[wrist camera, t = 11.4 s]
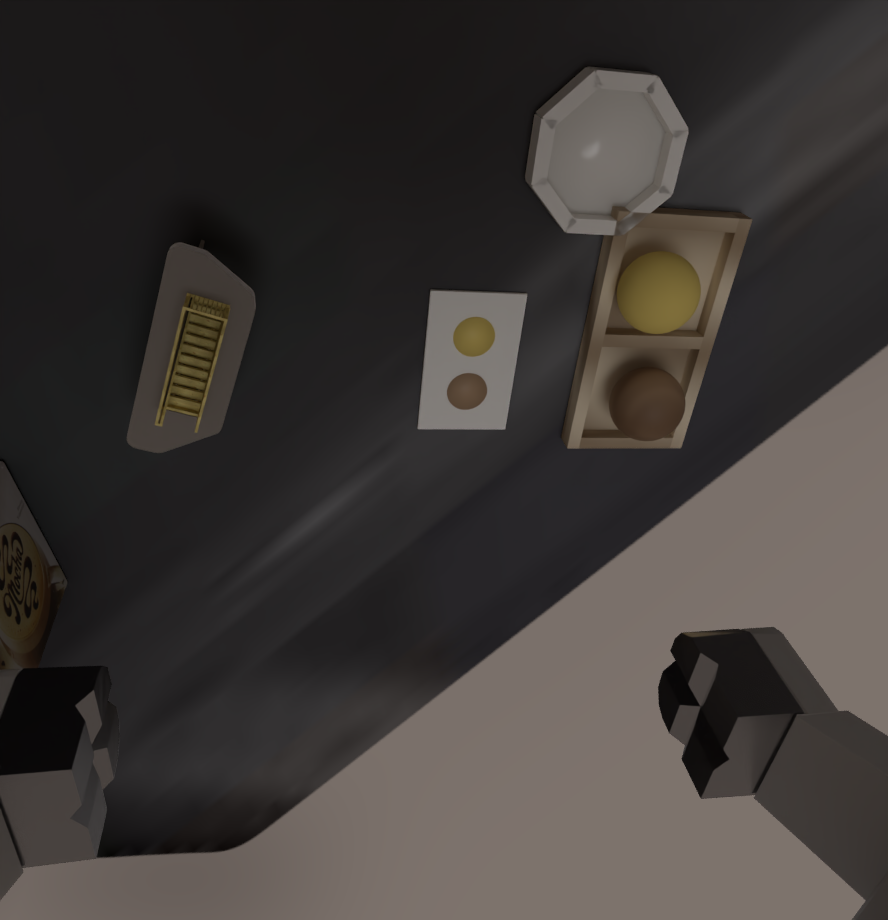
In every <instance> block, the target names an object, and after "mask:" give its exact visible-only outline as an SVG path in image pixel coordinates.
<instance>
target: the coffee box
mask: <svg viewBox="0 0 888 920" xmlns="http://www.w3.org/2000/svg"><path fill="white" fill-rule="evenodd" d="M66 585H67V580H66V578H65V576H64V574H63V572H62V570H61V568H60V566H59V564H58V562H57V560H56V559H55V557H54V555H53V553H52V551H51V549H50V547H49V546H48V544H47V542H46V540H45V538H44V536H43V534H42V533H41V531H40V529H39V527H38V525H37V523H36V521H35V520H34V518H33V516H32V514H31V512H30V510H29V508H28V507H27V505H26V503H25V501H24V499H23V497H22V495H21V493H20V492H19V490H18V488H17V486H16V484H15V482H14V480H13V479H12V477H11V475H10V473H9V471H8V469H7V467H6V465H5V464H4V462H2V461H0V670H4V669H23V668H38V666H39V664H40V661H41V658H42V654H43V651H44V649H45V645H46V643H47V640H48V637H49V634H50V631H51V628H52V625H53V622H54V619H55V616H56V614H57V611H58V608H59V605H60V602H61V599H62V597H63V594H64V591H65V588H66Z"/></svg>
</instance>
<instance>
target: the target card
mask: <svg viewBox="0 0 888 920" xmlns="http://www.w3.org/2000/svg"><path fill="white" fill-rule="evenodd" d="M526 300H527V293H515V292H489V291H462V290H436V289H430V297H429V308H428V318H427V329H426V340H425V350H424V361H423V372H422V382H421V393H420V404H419V415H418V425H417V428H418V429H505V427H506V421H507V415H508V409H509V403H510V397H511V391H512V385H513V379H514V373H515V367H516V361H517V355H518V349H519V343H520V337H521V331H522V324H523V318H524V312H525V306H526Z"/></svg>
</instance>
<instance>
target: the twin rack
mask: <svg viewBox="0 0 888 920" xmlns="http://www.w3.org/2000/svg"><path fill="white" fill-rule="evenodd" d="M633 213H634V215H632V216H630V215H629V214H631V213H630V211H629V210H628V209H626V208H625V207H618V206H612V211H611V216H612V217H613V218H614V219H615V220H616V221H617V223H616V227H619V226H621V228H620V230H616V229H617V228H616V227H615V228H616V229H615V231H618V232H617V233H619V231H620V233H619V234H621V233H622V230H624V229H626V230H625V233H624V234H621V235H619V234H617V235H616V236H615V234H616V233H614V235H604V237H603V242H602V247H601V251H600V256H599V261H598V265H597V270H596V275H595V280H594V284H593V289H592V294H591V299H590V303H589V308H588V313H587V317H586V322H585V327H584V332H583V336H582V341H581V346H580V350H579V355H578V360H577V365H576V369H575V374H574V379H573V383H572V388H571V393H570V398H569V402H568V407H567V412H566V416H565V421H564V426H563V431H562V435H561V438H562V440H563V442H564V444H565V445H566V447H567V448H681V446H682V443H683V440H684V437H685V434H686V430H687V427H688V424H689V421H690V418H691V414H692V411H693V408H694V405H695V402H696V398H697V395H698V392H699V389H700V386H701V382H702V379H703V376H704V373H705V370H706V366H707V363H708V360H709V357H710V354H711V350H712V347H713V344H714V341H715V338H716V334H717V331H718V328H719V325H720V322H721V318H722V315H723V312H724V309H725V306H726V302H727V299H728V296H729V293H730V290H731V286H732V283H733V280H734V277H735V274H736V271H737V267H738V264H739V261H740V258H741V255H742V251H743V248H744V245H745V242H746V239H747V235H748V232H749V229H750V226H751V223H752V219H751V218H749V217H748V216H746V215H744V214H742V213H739V212H723V211H707V210H691V209H675V208H659V207H657V208H656V209H655V210H654V211H652V212H651V213H645V214H647V215H648V216H647V215H645V214H644V213H638V212H633ZM636 213H637V214H636ZM639 214H641V215H639ZM627 215H629V216H630V217H632V218H633V217H634V218H633V219H634V220H635V217H637V216H636V215H639V216H640V217H639V216H638V217H639V218H638V219H639V220H638V219H637V218H636V220H637V221H638V222H637V221H636V222H635V221H634V220H632V219H631V218H630V217H629V218H630V219H631V220H630V219H629V218H627V217H626V216H627ZM643 215H645V217H644V216H643ZM642 216H643V217H644V219H641V218H643V217H642ZM624 217H626V218H625V219H626V222H627V223H628V222H629V220H630V222H631V223H630V222H629V223H630V224H629V225H628V224H625V225H624V224H622V223H623V222H624ZM622 219H623V222H622V223H621V222H620V221H621V220H622ZM627 219H628V221H627ZM640 219H641V220H640ZM632 221H633V222H635V224H634V225H635V226H634V227H633V226H632V225H631V224H632V223H633V222H632ZM619 222H620V223H621V224H622V225H619V224H620V223H619ZM624 223H625V222H624ZM637 223H638V224H637ZM636 224H637V225H636ZM627 225H628V228H629V226H631V227H633V228H632V229H630V230H629V229H628V228H627V227H626V226H627ZM622 226H623V227H624V226H625V227H626V228H625V227H624V228H623V229H622ZM621 229H622V230H621ZM627 230H629V231H628V232H627V233H626V231H627ZM623 232H624V231H623ZM656 251H666V252H672V253H675V254H677V255H680V256H681V257H683V258H685V259H686V260H687V261H688V262H689V263H690V264H691V265H692V266H693V267H694V269H695V270H696V272H697V274H698V277H699V280H700V285H701V295H700V301H699V304H698V306H697V309H696V311H695V312H694V314H693V315H692V317H691V318H690V319H689V320H688V321H687V322H686V323H685V324H684V325H682V326H681V327H679V328H678V329H676V330H674V331H671V332H668V333H663V334H650V333H645V332H642V331H640V330H638V329H636V328H634V327H633V326H631V325H630V324H629V323H628V322H627V321H626V320H625V318H624V317H623V315H622V314H621V312H620V309H619V306H618V302H617V288H618V284H619V280H620V278H621V276H622V274H623V272H624V271H625V269H626V268H627V267H628V266H629V265H630V264H631V263H632V262H633V261H634V260H636V259H637V258H639V257H640V256H642V255H645V254H647V253H651V252H656ZM642 367H654V368H658V369H662V370H664V371H666V372H668V373H669V374H671V375H672V376H673V377H674V378H675V379H676V380H677V381H678V382H679V384H680V385H681V387H682V389H683V392H684V395H685V403H686V404H685V412H684V415H683V418H682V420H681V422H680V423H679V425H678V426H677V427H676V429H675V430H674V431H673V432H671V433H670V434H669V435H667V436H665V437H663V438H661V439H658V440H654V441H639V440H635V439H632V438H630V437H628V436H626V435H625V434H623V433H622V432H621V431H620V430H619V429H618V428H617V427H616V425H615V424H614V422H613V420H612V418H611V415H610V411H609V399H610V394H611V391H612V389H613V387H614V385H615V384H616V383H617V381H618V380H619V379H620V378H621V377H622V376H623V375H625V374H626V373H628V372H630V371H632V370H634V369H637V368H642Z"/></svg>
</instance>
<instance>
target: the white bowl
mask: <svg viewBox="0 0 888 920" xmlns="http://www.w3.org/2000/svg"><path fill="white" fill-rule="evenodd" d="M688 132H689V131H688V127H687V125H686V123H685V122H684V120H683V118H682V116H681V115H680V113H679V111H678V109H677V108H676V106H675V104H674V102H673V101H672V99H671V97H670V95H669V93H668V92H667V90H666V88H665V86H664V85H663V83H662V81H661V79H660V78H659V77H658V76H657V75H654V74H651V73H648V72H640V71H629V70H619V69H609V68H599V67H589V66H588V68H587V67H585V68H584V69H583V70H582V71H581V72H580V73H579V74H578V75H576V76H575V77H574V78H573V79H572V80H571V81H570V82H569V83H568V84H566V85H565V86H564V87H563V88H562V89H561V90H560V91H559V92H557V93H556V94H555V95H554V96H553V97H552V98H551V99H550V100H548V101H547V102H546V103H545V104H544V105H543V106H542V107H541V108H539V109H538V110H537V111H536V114H534V120H533V127H532V133H531V140H530V147H529V153H528V160H527V167H526V173H525V179H526V180H525V181H526V182H527V183H528V185H529V186H530V188H531V189H532V190H533V192H534V193H535V194H536V196H537V197H538V198H539V200H540V201H541V203H542V204H543V205H544V207H545V208H546V209H547V211H548V212H549V213H550V215H551V216H552V218H553V219H554V220H555V222H556V223H557V224H558V225H559V226H560V228H561V229H562V230H563V231H564V232H566V233H578V234H596V235H614V233H616V234H615V236H616V235H617V234H619V233H620V231H619V233H617V232H618V231H615V229H616V228H617V229H616V230H620V228H621V226H619V227H616V223H617V221H616V220H615V219H614V218H613V217H612V216H611V211H612V206H618V207H625V208H626V209H628V210H629V211H630V213H631V214H629V215H630V216H632V215H634V213H633V212H638V213H644V214H645V213H651V212H652V211H654V210H655V209H656V208H657V207H659V206H660V205H661V204H662V203H664V202H665V201H666V200H667V199H668V198H670V197H671V196H672V195H671V194H673V192H674V188H675V184H676V180H677V176H678V172H679V168H680V164H681V160H682V156H683V152H684V148H685V144H686V140H687V136H688ZM636 214H637V213H636ZM629 215H627V216H626V217H627V218H629V217H630V216H629ZM639 215H641V214H639ZM639 215H636V216H637V217H635V220H634V219H633V218H634V217H633V218H632V217H630V218H631V219H632V220H634V221H635V222H636V221H637V220H636V218H637V219H638V218H639V217H640V216H639ZM645 215H647V214H645ZM645 215H643V216H644V217H645ZM638 216H639V217H638ZM643 216H642V217H643ZM647 216H648V215H647ZM626 217H624V222H625V223H624V222H623V219H622V220H621V221H620V222H621V223H622V222H623V223H622V224H624V225H625V224H628V225H629V224H630V223H631V222H630V220H631V219H630V218H629V219H630V220H629V222H630V223H629V222H628V223H627V222H626V219H625V218H626ZM644 217H643V218H641V219H644ZM641 219H640V220H641ZM638 220H639V219H638ZM627 221H628V219H627ZM620 222H619V223H620ZM632 222H633V221H632ZM635 222H633V223H632V224H631V225H632V226H633V227H634V226H635V225H634V224H635ZM637 222H638V221H637ZM621 223H620V224H619V225H622V224H621ZM637 224H638V223H637ZM637 224H636V225H637ZM628 225H627V226H626V227H627V228H628ZM615 227H616V228H615ZM624 227H625V226H624ZM624 227H623V226H622V229H623V228H624ZM626 227H625V228H626ZM633 227H631V226H629V228H628V229H629V230H630V229H632V228H633ZM622 229H621V230H622ZM625 230H626V229H624V230H622V233H621V234H624V233H625ZM629 230H627V231H626V233H627V232H628V231H629ZM623 231H624V232H623ZM621 234H619V235H621Z"/></svg>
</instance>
